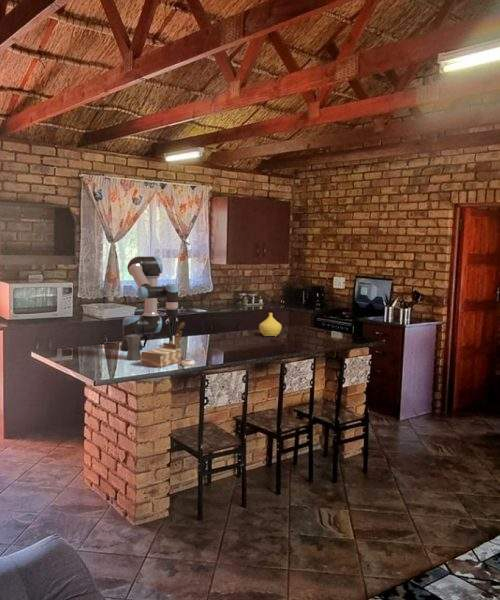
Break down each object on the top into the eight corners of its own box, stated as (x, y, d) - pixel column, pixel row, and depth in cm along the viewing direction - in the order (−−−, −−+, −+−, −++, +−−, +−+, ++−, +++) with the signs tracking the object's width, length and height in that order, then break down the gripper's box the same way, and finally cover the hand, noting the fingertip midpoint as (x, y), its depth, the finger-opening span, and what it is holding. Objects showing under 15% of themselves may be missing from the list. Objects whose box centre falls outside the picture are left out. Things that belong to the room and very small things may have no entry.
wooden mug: (188, 346, 403) (188, 322, 401) (172, 348, 394) (172, 323, 392) (180, 344, 409) (180, 320, 408) (165, 346, 400) (165, 322, 398)
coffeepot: (121, 360, 350) (121, 332, 348) (125, 357, 359) (125, 329, 358) (146, 360, 350) (146, 332, 348) (149, 357, 359) (149, 330, 358)
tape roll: (186, 363, 345) (186, 359, 345) (197, 364, 341) (197, 360, 341) (178, 365, 338) (178, 361, 338) (189, 366, 334) (189, 362, 334)
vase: (270, 333, 472) (271, 311, 470) (285, 336, 458) (286, 313, 456) (254, 335, 460) (254, 312, 458) (269, 338, 446) (269, 314, 444)
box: (160, 359, 354) (160, 346, 353) (180, 362, 347) (180, 349, 346) (140, 365, 336) (140, 351, 336) (160, 368, 330) (160, 354, 329)
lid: (162, 348, 354) (162, 342, 354) (180, 350, 347) (180, 344, 347) (143, 352, 337) (143, 347, 337) (162, 355, 331) (162, 349, 330)
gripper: (173, 307, 356) (172, 343, 359) (160, 309, 345) (160, 346, 347) (182, 308, 353) (182, 344, 355) (170, 309, 341) (170, 347, 344)
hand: (171, 345), depth 351 cm, fingers closed
